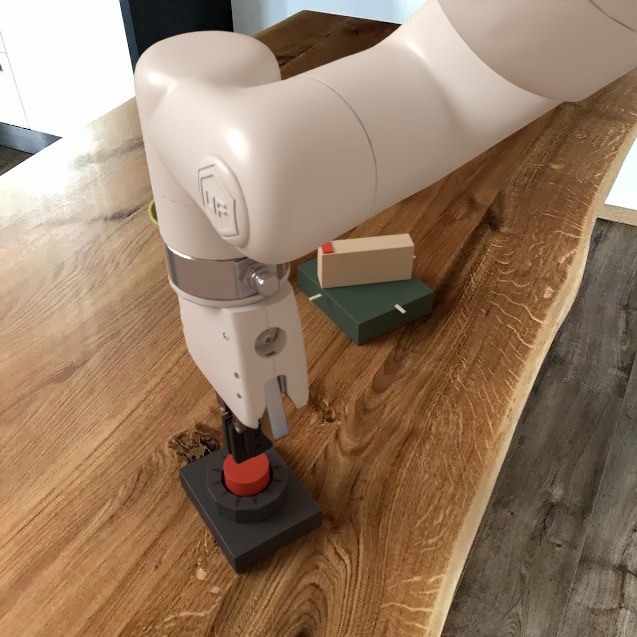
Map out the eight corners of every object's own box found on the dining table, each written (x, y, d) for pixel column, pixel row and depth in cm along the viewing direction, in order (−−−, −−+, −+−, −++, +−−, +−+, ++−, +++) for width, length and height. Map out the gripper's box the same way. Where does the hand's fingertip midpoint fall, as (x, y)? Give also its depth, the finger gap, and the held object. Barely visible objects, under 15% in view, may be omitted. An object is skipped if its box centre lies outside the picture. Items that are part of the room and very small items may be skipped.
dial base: (452, 311, 81) (456, 288, 79) (347, 359, 75) (348, 336, 73) (376, 248, 90) (377, 226, 88) (276, 287, 84) (275, 265, 82)
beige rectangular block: (405, 266, 82) (409, 231, 79) (411, 279, 80) (415, 243, 77) (317, 275, 80) (317, 240, 77) (321, 289, 79) (321, 253, 75)
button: (278, 483, 59) (277, 470, 58) (238, 504, 57) (237, 490, 56) (255, 453, 61) (254, 440, 60) (217, 472, 59) (215, 459, 58)
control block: (322, 525, 60) (322, 496, 57) (236, 574, 57) (232, 545, 54) (261, 445, 66) (259, 415, 64) (180, 484, 63) (175, 455, 60)
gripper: (349, 291, 41) (346, 493, 53) (225, 183, 51) (245, 374, 62) (230, 341, 38) (255, 544, 50) (122, 215, 47) (164, 410, 59)
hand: (249, 449), depth 56 cm, fingers closed
